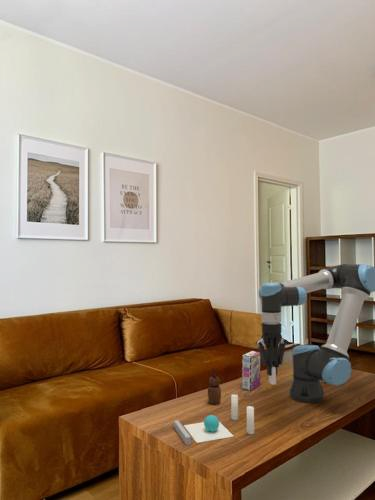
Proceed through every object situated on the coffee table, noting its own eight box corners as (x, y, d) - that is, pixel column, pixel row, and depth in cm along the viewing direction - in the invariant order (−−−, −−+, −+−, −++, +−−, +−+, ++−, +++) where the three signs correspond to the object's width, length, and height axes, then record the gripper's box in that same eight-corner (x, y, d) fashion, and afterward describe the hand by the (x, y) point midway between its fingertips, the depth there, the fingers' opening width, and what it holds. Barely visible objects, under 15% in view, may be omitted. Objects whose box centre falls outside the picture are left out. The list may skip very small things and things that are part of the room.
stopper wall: (178, 426, 139) (177, 420, 139) (190, 444, 126) (190, 436, 126) (173, 427, 139) (173, 420, 139) (186, 445, 126) (186, 437, 126)
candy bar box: (251, 391, 176) (251, 356, 177) (241, 389, 179) (241, 355, 180) (261, 384, 185) (260, 351, 186) (251, 383, 188) (251, 350, 189)
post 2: (251, 430, 136) (251, 405, 136) (255, 433, 134) (255, 408, 134) (245, 431, 135) (245, 406, 136) (249, 434, 133) (248, 409, 133)
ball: (198, 422, 137) (209, 430, 139) (204, 428, 132) (215, 437, 133) (208, 409, 139) (218, 418, 140) (214, 415, 134) (224, 424, 135)
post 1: (236, 416, 148) (236, 393, 148) (239, 419, 146) (239, 396, 146) (230, 417, 147) (230, 394, 147) (233, 420, 145) (233, 397, 145)
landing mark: (217, 420, 145) (217, 419, 145) (233, 436, 132) (233, 436, 132) (183, 425, 140) (183, 425, 140) (196, 443, 127) (196, 442, 127)
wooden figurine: (207, 399, 166) (207, 365, 167) (220, 399, 166) (220, 365, 166) (208, 405, 159) (207, 370, 160) (221, 405, 159) (221, 370, 160)
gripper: (261, 325, 140) (262, 388, 139) (291, 323, 144) (292, 384, 144) (251, 322, 147) (252, 382, 147) (280, 320, 151) (281, 378, 151)
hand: (272, 383), depth 145 cm, fingers closed
